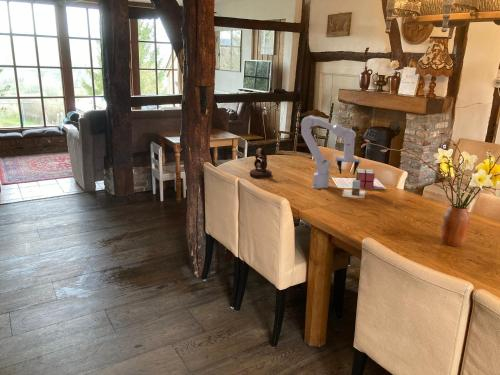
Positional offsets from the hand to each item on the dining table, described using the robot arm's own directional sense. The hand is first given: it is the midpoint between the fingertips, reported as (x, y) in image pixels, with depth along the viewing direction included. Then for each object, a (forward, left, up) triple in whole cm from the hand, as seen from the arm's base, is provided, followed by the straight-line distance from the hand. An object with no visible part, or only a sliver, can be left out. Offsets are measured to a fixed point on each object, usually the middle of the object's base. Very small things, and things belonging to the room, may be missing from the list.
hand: (347, 174), depth 242 cm
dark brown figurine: (-57, +17, -10) cm, 60 cm away
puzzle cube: (+10, +11, -10) cm, 18 cm away
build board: (+5, -8, -10) cm, 14 cm away
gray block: (+6, -9, -5) cm, 12 cm away
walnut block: (+6, -9, -9) cm, 14 cm away
